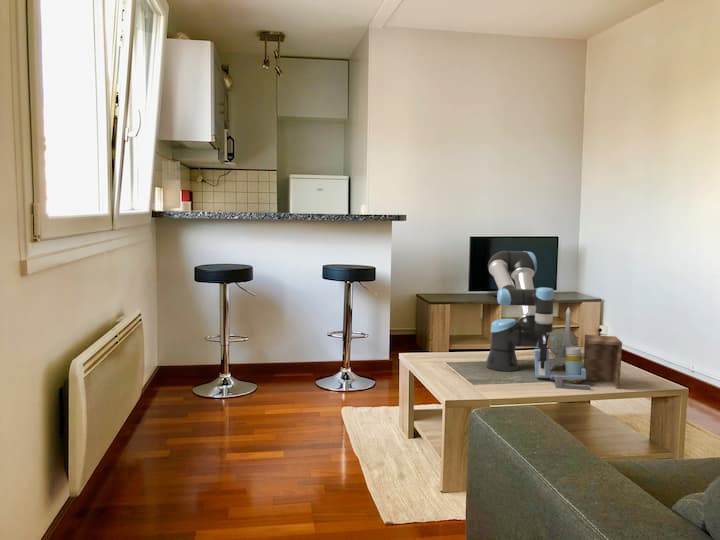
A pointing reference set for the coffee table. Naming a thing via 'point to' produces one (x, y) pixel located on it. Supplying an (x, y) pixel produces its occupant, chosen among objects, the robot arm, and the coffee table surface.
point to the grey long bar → (569, 386)
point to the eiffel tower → (566, 343)
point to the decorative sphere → (559, 340)
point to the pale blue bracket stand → (550, 374)
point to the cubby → (603, 358)
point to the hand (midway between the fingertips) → (541, 373)
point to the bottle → (573, 363)
